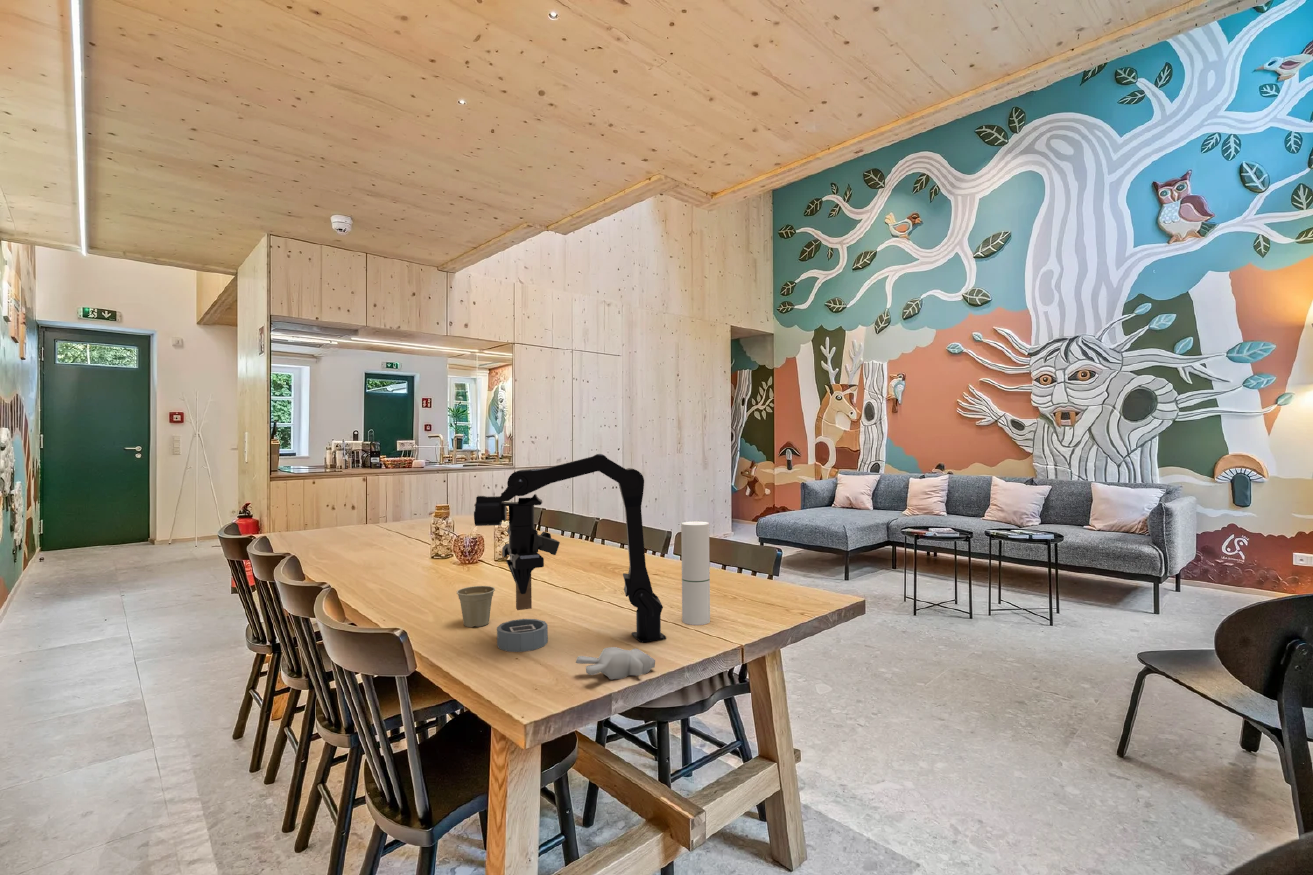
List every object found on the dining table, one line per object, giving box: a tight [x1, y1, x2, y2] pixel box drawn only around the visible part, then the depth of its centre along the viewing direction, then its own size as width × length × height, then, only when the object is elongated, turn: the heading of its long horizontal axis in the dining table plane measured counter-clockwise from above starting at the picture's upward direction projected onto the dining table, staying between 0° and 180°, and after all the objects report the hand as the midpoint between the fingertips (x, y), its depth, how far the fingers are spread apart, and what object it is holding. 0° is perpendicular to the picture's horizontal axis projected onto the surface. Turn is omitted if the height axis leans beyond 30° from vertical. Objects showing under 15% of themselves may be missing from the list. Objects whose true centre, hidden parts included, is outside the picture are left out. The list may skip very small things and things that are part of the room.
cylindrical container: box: [680, 520, 711, 626], centre depth 156 cm, size 7×7×25 cm
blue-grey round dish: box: [496, 618, 549, 653], centre depth 140 cm, size 11×11×4 cm
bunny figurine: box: [575, 646, 656, 681], centre depth 120 cm, size 10×5×15 cm
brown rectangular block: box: [515, 574, 533, 611], centre depth 140 cm, size 2×3×9 cm, turn 113°
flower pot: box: [456, 585, 496, 628], centre depth 155 cm, size 9×9×9 cm
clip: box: [509, 624, 536, 633], centre depth 140 cm, size 4×5×2 cm
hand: (522, 592), depth 140 cm, fingers closed on brown rectangular block, 2 cm apart
